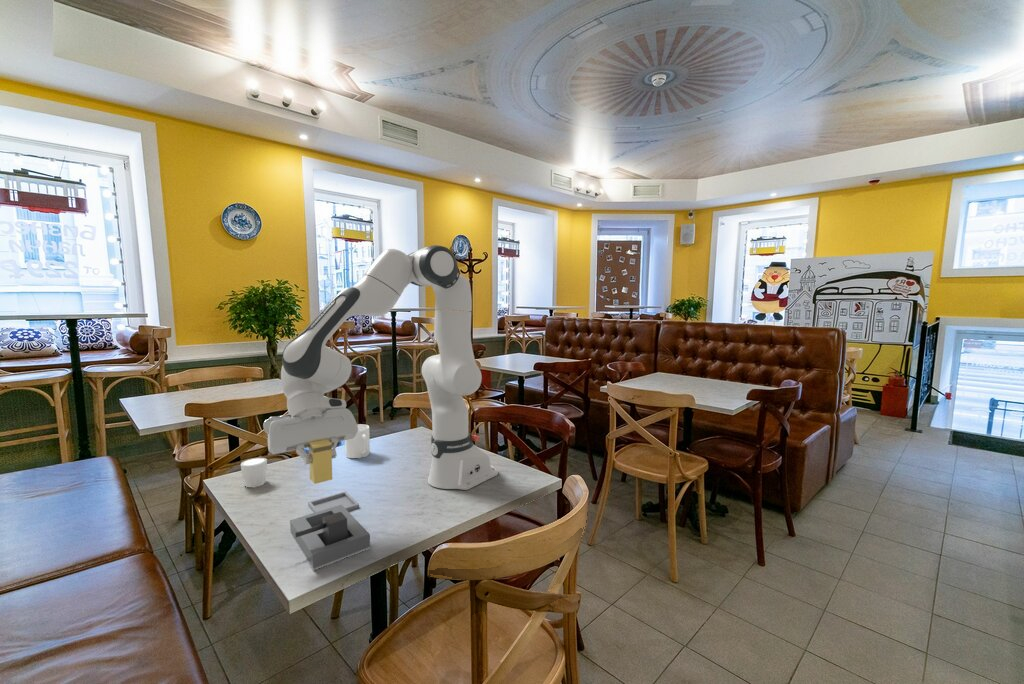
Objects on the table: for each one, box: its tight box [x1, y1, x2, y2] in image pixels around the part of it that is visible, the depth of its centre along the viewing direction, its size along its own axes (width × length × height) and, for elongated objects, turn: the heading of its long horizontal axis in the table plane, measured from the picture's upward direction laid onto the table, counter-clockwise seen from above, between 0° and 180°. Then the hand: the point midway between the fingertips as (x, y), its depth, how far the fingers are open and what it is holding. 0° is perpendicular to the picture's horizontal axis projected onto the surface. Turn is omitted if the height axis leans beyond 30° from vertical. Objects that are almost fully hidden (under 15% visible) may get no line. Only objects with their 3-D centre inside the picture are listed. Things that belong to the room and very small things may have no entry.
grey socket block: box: [289, 505, 371, 571], centre depth 96 cm, size 14×18×8 cm
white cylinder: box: [240, 457, 268, 488], centre depth 127 cm, size 7×7×7 cm
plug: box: [308, 439, 333, 485], centre depth 100 cm, size 4×4×9 cm
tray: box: [307, 490, 360, 513], centre depth 112 cm, size 10×10×1 cm
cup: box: [344, 423, 371, 459], centre depth 150 cm, size 8×12×10 cm
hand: (321, 460), depth 100 cm, fingers closed on plug, 4 cm apart
